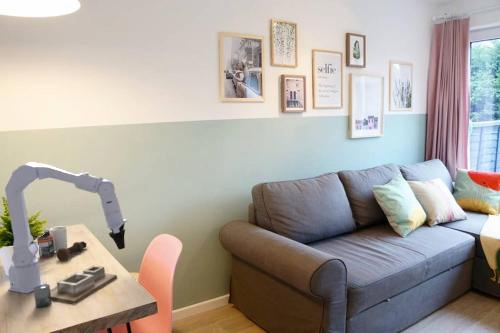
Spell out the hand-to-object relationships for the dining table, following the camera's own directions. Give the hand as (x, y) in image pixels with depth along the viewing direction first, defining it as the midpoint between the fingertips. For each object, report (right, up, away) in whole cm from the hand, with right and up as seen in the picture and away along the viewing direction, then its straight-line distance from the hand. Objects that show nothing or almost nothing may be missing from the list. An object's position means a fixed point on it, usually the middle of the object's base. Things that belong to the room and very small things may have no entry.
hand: (121, 245), depth 141 cm
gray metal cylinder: (-17, -14, -22) cm, 31 cm away
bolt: (-28, -9, +22) cm, 37 cm away
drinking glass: (-38, -8, +29) cm, 48 cm away
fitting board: (-11, -12, -10) cm, 19 cm away
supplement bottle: (-40, -9, +21) cm, 46 cm away
